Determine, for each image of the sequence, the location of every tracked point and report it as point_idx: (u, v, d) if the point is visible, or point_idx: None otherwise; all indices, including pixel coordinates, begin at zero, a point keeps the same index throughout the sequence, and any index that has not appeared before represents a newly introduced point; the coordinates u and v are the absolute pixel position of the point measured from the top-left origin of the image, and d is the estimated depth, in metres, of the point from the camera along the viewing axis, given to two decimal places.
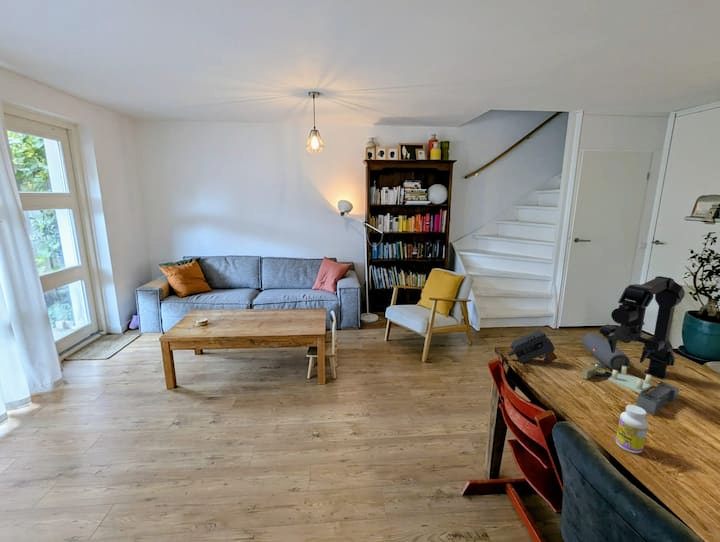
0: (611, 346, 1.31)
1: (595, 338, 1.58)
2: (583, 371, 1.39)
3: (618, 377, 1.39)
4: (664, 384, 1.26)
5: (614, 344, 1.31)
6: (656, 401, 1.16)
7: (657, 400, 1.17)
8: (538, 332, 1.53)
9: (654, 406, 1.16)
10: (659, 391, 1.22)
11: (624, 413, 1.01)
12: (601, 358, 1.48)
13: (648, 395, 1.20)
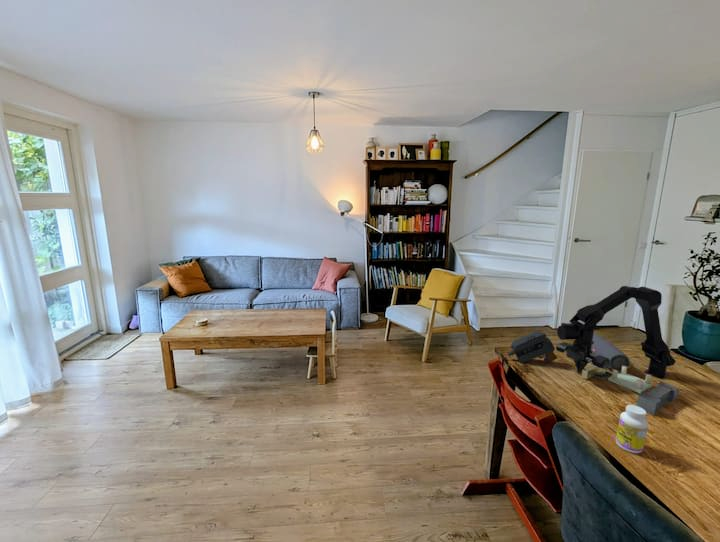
0: (577, 366, 1.41)
1: (594, 338, 1.58)
2: (583, 371, 1.39)
3: (618, 377, 1.39)
4: (664, 384, 1.26)
5: None
6: (656, 401, 1.16)
7: (657, 400, 1.17)
8: (538, 332, 1.53)
9: (654, 406, 1.16)
10: (659, 391, 1.22)
11: (624, 413, 1.01)
12: None
13: (648, 395, 1.20)
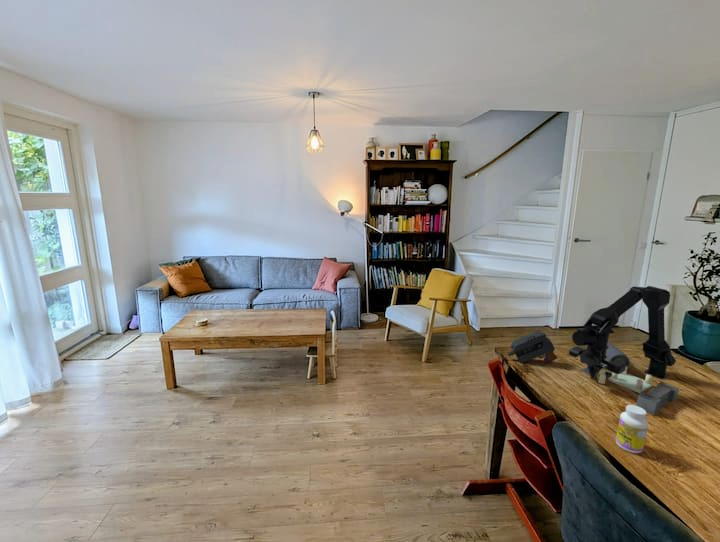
0: (590, 372, 1.37)
1: None
2: (601, 377, 1.35)
3: (618, 377, 1.39)
4: (664, 384, 1.26)
5: None
6: (656, 401, 1.16)
7: (657, 400, 1.17)
8: (538, 332, 1.53)
9: (654, 406, 1.16)
10: (659, 391, 1.22)
11: (624, 413, 1.01)
12: None
13: (648, 395, 1.20)
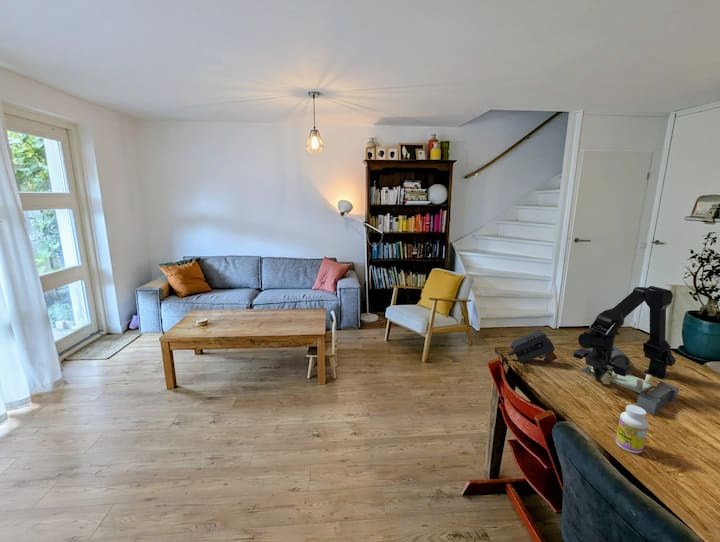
0: (596, 374, 1.35)
1: None
2: (606, 378, 1.34)
3: (618, 377, 1.39)
4: (664, 384, 1.26)
5: None
6: (656, 401, 1.16)
7: (657, 400, 1.17)
8: (538, 332, 1.53)
9: (654, 406, 1.16)
10: (659, 391, 1.22)
11: (624, 413, 1.01)
12: None
13: (648, 395, 1.20)
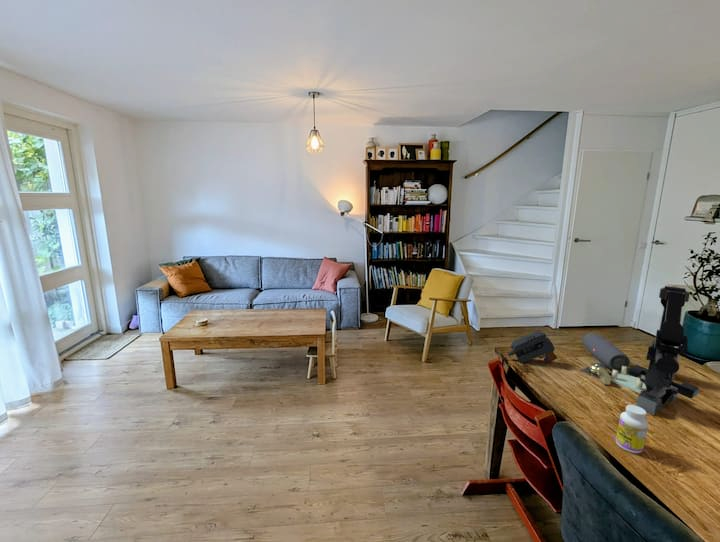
0: None
1: (595, 338, 1.58)
2: (606, 378, 1.34)
3: (618, 377, 1.39)
4: None
5: (652, 389, 1.24)
6: (656, 401, 1.16)
7: (657, 400, 1.17)
8: (538, 332, 1.53)
9: (654, 406, 1.16)
10: (659, 391, 1.22)
11: (624, 413, 1.01)
12: (601, 358, 1.48)
13: (648, 395, 1.20)
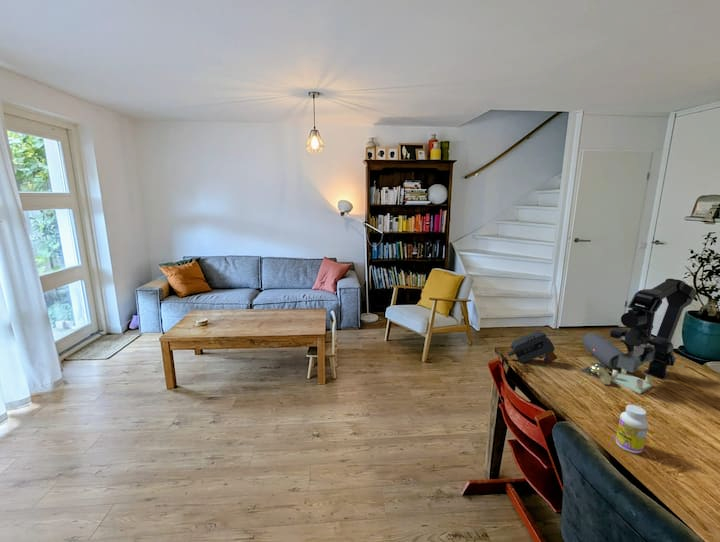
0: (629, 351, 1.35)
1: (594, 338, 1.58)
2: (606, 378, 1.34)
3: (618, 377, 1.39)
4: (643, 346, 1.37)
5: (632, 349, 1.35)
6: (635, 359, 1.27)
7: (635, 358, 1.28)
8: (538, 332, 1.53)
9: (632, 364, 1.27)
10: (637, 352, 1.33)
11: (624, 413, 1.01)
12: (601, 358, 1.48)
13: (628, 355, 1.31)
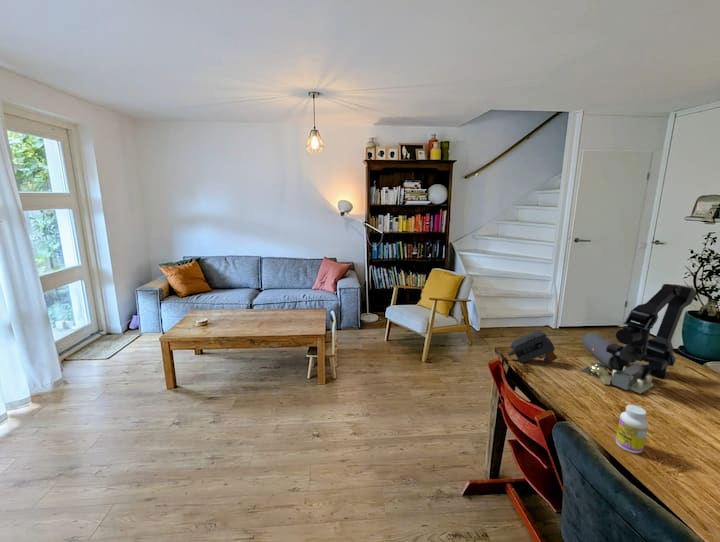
0: (619, 365, 1.38)
1: (594, 337, 1.58)
2: (606, 378, 1.34)
3: None
4: (639, 364, 1.40)
5: (622, 363, 1.38)
6: (629, 377, 1.30)
7: (630, 376, 1.30)
8: (538, 332, 1.53)
9: (627, 382, 1.29)
10: (632, 370, 1.35)
11: (624, 413, 1.01)
12: (600, 358, 1.48)
13: (622, 372, 1.33)
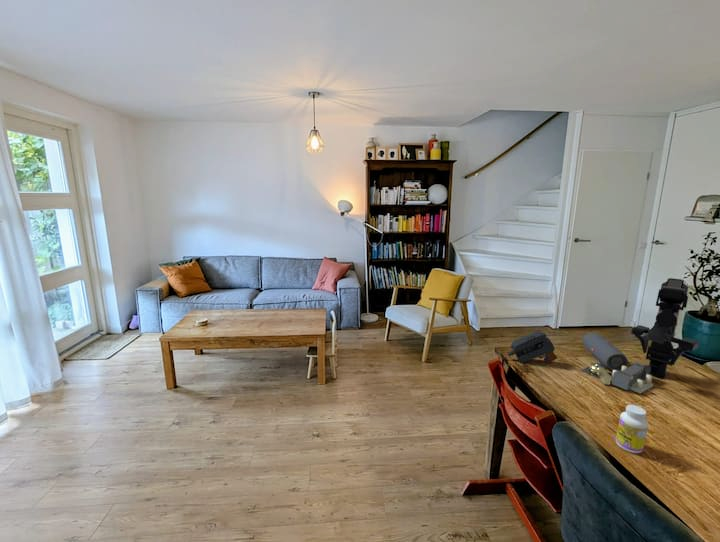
0: (643, 346, 1.34)
1: (594, 337, 1.58)
2: (606, 378, 1.34)
3: None
4: (639, 364, 1.40)
5: (646, 344, 1.34)
6: (629, 377, 1.30)
7: (630, 376, 1.30)
8: (538, 332, 1.53)
9: (627, 382, 1.29)
10: (632, 370, 1.35)
11: (624, 413, 1.01)
12: (599, 357, 1.49)
13: (622, 372, 1.33)
